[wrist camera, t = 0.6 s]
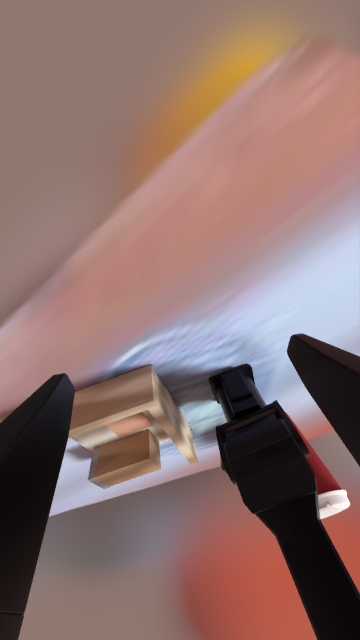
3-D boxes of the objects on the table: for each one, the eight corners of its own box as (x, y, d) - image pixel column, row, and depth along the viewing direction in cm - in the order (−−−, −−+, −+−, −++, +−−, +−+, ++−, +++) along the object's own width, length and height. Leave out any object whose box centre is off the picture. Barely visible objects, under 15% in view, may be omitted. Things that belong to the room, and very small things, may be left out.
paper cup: (250, 420, 39) (296, 518, 28) (287, 402, 38) (351, 498, 26) (263, 435, 44) (307, 525, 32) (296, 419, 42) (355, 507, 31)
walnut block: (158, 440, 37) (161, 469, 33) (107, 458, 37) (103, 489, 33) (148, 428, 34) (149, 458, 30) (93, 447, 34) (87, 480, 31)
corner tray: (191, 429, 38) (198, 462, 33) (106, 458, 38) (101, 495, 34) (151, 364, 27) (153, 400, 22) (34, 406, 28) (14, 449, 23)
